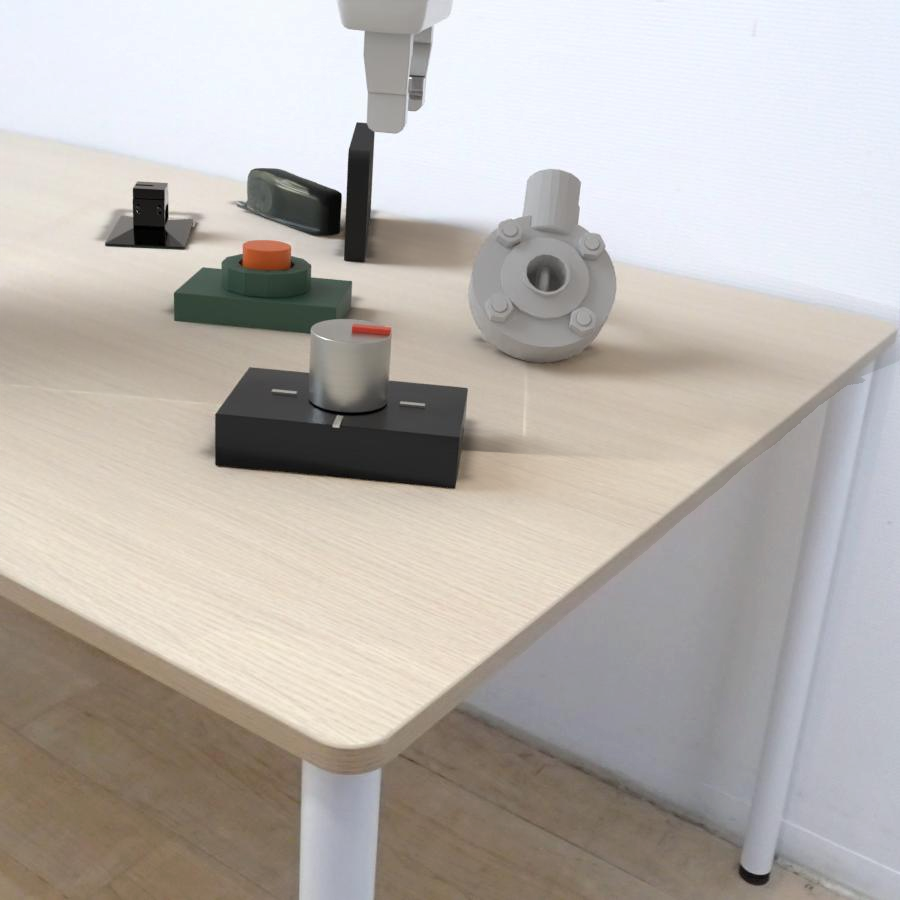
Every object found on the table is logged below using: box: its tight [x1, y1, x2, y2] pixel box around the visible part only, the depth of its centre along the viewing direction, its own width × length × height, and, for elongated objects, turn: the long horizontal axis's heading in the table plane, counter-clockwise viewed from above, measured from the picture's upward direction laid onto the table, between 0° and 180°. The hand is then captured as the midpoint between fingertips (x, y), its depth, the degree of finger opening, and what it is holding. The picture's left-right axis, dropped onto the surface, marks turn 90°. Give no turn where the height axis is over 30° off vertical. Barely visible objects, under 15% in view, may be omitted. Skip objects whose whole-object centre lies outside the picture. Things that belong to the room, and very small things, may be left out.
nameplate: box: [343, 121, 376, 262], centre depth 115 cm, size 21×2×10 cm, turn 2°
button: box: [242, 239, 292, 270], centre depth 88 cm, size 4×4×2 cm
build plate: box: [104, 181, 197, 251], centre depth 111 cm, size 12×7×5 cm, turn 8°
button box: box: [173, 253, 353, 334], centre depth 89 cm, size 12×8×4 cm, turn 86°
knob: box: [308, 318, 393, 413], centre depth 65 cm, size 4×4×4 cm
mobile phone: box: [236, 167, 343, 237], centre depth 120 cm, size 5×3×15 cm
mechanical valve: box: [467, 168, 617, 364], centre depth 91 cm, size 10×18×15 cm
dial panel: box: [214, 366, 469, 490], centre depth 66 cm, size 13×9×3 cm, turn 86°
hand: (397, 119), depth 60 cm, fingers open, 8 cm apart
